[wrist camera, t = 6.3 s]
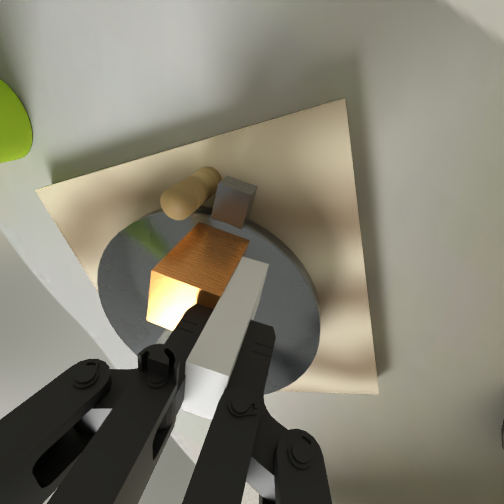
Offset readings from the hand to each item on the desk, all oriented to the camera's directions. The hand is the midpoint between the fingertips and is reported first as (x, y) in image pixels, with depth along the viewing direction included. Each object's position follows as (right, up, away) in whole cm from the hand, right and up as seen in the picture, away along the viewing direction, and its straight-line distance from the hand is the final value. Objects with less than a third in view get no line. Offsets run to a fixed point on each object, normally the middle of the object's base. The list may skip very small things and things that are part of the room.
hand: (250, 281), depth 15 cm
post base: (-2, -1, +8) cm, 9 cm away
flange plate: (-3, -2, +6) cm, 6 cm away
